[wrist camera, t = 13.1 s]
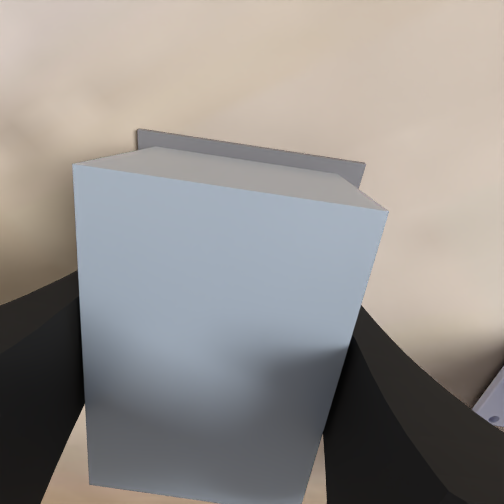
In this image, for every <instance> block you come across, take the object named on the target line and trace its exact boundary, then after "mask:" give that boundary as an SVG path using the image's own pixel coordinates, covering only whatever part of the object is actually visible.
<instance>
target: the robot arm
mask: <svg viewBox="0 0 504 504" xmlns="http://www.w3.org/2000/svg"><path fill="white" fill-rule="evenodd" d="M84 404H85V392H84V373H83V354H82V335H81V316H80V298H79V279H78V270H77V271H75V272H73V273H71V274H70V275H68V276H66V277H64V278H62V279H60V280H58V281H55V282H53V283H51V284H49V285H47V286H45V287H43V288H40V289H38V290H36V291H34V292H32V293H30V294H28V295H25V296H23V297H21V298H18V299H16V300H13V301H11V302H8V303H6V304H3V305H1V306H0V504H41V501H42V499H43V496H44V494H45V492H46V489H47V487H48V484H49V482H50V479H51V477H52V475H53V472H54V470H55V468H56V466H57V463H58V461H59V459H60V456H61V454H62V452H63V450H64V447H65V445H66V443H67V441H68V438H69V436H70V434H71V432H72V430H73V428H74V426H75V423H76V421H77V419H78V417H79V415H80V413H81V411H82V408H83V406H84ZM493 425H495V426H502V427H504V366H503V367H502V369H501V370H500V372H499V373H498V374H497V376H496V377H495V378H494V380H493V381H492V382H491V384H490V385H489V386H488V388H487V389H486V391H485V392H484V393H483V395H482V396H481V397H480V399H479V400H478V401H477V403H476V404H475V405H474V407H473V408H472V410H471V409H470V408H469V407H468V406H466V405H465V404H464V403H462V402H461V401H460V400H459V399H457V398H456V397H455V396H453V395H452V394H451V393H449V392H448V391H447V390H446V389H445V388H443V387H442V386H441V385H440V384H438V383H437V382H436V381H435V380H434V379H433V378H432V377H430V376H429V375H428V374H427V373H426V372H425V371H424V370H423V369H421V368H420V367H419V366H418V365H417V364H416V363H415V362H414V361H413V360H412V359H411V358H409V357H408V356H407V355H406V354H405V353H404V352H403V351H402V350H401V349H400V348H399V347H398V346H397V345H396V343H395V342H394V341H393V340H392V339H391V338H390V337H389V336H388V335H387V334H386V333H385V332H384V331H383V330H382V329H381V327H380V326H379V325H378V324H377V323H376V322H375V321H374V320H373V318H372V317H371V316H370V315H369V314H368V313H367V311H366V310H365V309H364V308H363V307H362V305H361V307H360V310H359V313H358V317H357V320H356V323H355V327H354V330H353V333H352V337H351V340H350V343H349V347H348V350H347V354H346V357H345V360H344V364H343V367H342V370H341V374H340V377H339V380H338V384H337V387H336V390H335V394H334V397H333V400H332V404H331V407H330V410H329V414H328V417H327V420H326V424H325V427H324V430H323V439H324V454H325V471H326V492H327V504H504V432H502V431H501V430H499V429H498V428H496V427H495V426H493Z"/></svg>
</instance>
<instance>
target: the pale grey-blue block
mask: <svg viewBox="0 0 504 504" xmlns="http://www.w3.org/2000/svg"><path fill="white" fill-rule="evenodd" d="M72 166H73V184H74V203H75V222H76V241H77V260H78V279H79V298H80V316H81V335H82V354H83V373H84V392H85V411H86V429H87V448H88V467H89V485H95V486H102V487H109V488H116V489H123V490H130V491H137V492H144V493H151V494H158V495H165V496H172V497H179V498H186V499H193V500H200V501H207V502H214V503H221V504H302V501H303V497H304V494H305V491H306V487H307V484H308V481H309V477H310V474H311V471H312V467H313V464H314V461H315V457H316V454H317V451H318V447H319V444H320V441H321V437H322V434H323V430H324V427H325V424H326V420H327V417H328V414H329V410H330V407H331V404H332V400H333V397H334V394H335V390H336V387H337V384H338V380H339V377H340V374H341V370H342V367H343V364H344V360H345V357H346V354H347V350H348V347H349V343H350V340H351V337H352V333H353V330H354V327H355V323H356V320H357V317H358V313H359V310H360V307H361V303H362V300H363V297H364V293H365V290H366V287H367V283H368V280H369V277H370V273H371V270H372V266H373V263H374V260H375V256H376V253H377V250H378V246H379V243H380V240H381V236H382V233H383V230H384V226H385V223H386V220H387V216H388V213H389V211H388V210H386V209H385V208H384V207H382V206H381V205H379V204H378V203H377V202H375V201H374V200H373V199H371V198H370V197H369V196H367V195H366V194H364V193H363V192H362V191H360V190H359V189H358V188H356V187H355V186H354V185H352V184H351V183H349V182H348V181H347V180H345V179H344V178H343V177H341V176H340V175H338V174H334V173H328V172H321V171H315V170H308V169H301V168H295V167H288V166H282V165H275V164H268V163H262V162H255V161H249V160H242V159H235V158H229V157H222V156H215V155H209V154H202V153H196V152H189V151H182V150H176V149H169V148H163V147H151V148H146V149H142V150H137V151H132V152H127V153H122V154H117V155H113V156H108V157H103V158H98V159H93V160H88V161H84V162H79V163H74V164H72Z"/></svg>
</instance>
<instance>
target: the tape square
mask: <svg viewBox="0 0 504 504" xmlns="http://www.w3.org/2000/svg"><path fill="white" fill-rule="evenodd" d="M137 133H138V150H142V149H146V148H151V147H163V148H169V149H176V150H182V151H189V152H196V153H202V154H209V155H215V156H222V157H229V158H235V159H242V160H249V161H255V162H262V163H268V164H275V165H282V166H288V167H295V168H301V169H308V170H315V171H321V172H328V173H334V174H338V175H340V176H341V177H343V178H344V179H345V180H347V181H348V182H349V183H351V184H352V185H354V186H355V187H356V188H358V189H359V186H360V182H361V179H362V176H363V173H364V169H365V166H366V164H365V163H362V162H356V161H349V160H343V159H336V158H330V157H323V156H316V155H310V154H303V153H297V152H290V151H284V150H277V149H270V148H264V147H257V146H251V145H244V144H238V143H231V142H224V141H218V140H211V139H205V138H198V137H192V136H185V135H178V134H172V133H165V132H159V131H152V130H146V129H138V130H137Z"/></svg>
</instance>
